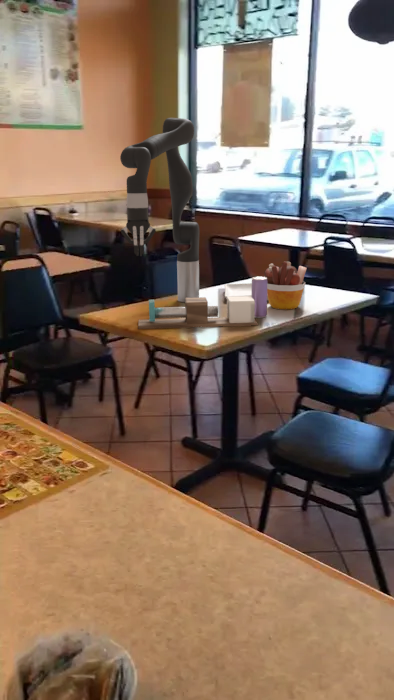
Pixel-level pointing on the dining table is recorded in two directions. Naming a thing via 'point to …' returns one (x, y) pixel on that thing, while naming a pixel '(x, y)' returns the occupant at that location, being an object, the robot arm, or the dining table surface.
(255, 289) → the beverage can
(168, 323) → the rail board
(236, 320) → the socket
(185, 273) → the robot arm
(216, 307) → the slip tube
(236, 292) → the square plate
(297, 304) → the bucket of meat
